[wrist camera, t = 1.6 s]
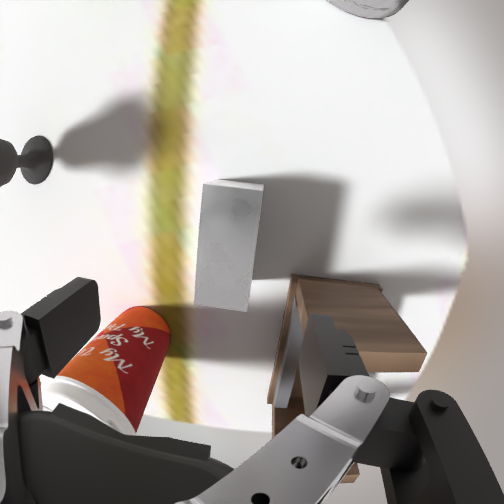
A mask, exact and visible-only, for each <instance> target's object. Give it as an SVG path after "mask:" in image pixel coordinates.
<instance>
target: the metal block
mask: <svg viewBox="0 0 504 504" xmlns="http://www.w3.org/2000/svg"><path fill="white" fill-rule="evenodd" d="M263 190H264V185H263V184H255V183H247V182H238V181H230V180H220V179H218V180H215V181H212V182H208V183H205V184H203V192H202V202H201V213H200V225H199V237H198V251H197V265H196V282H195V300H194V304H195V305H201V306H208V307H215V308H221V309H228V310H236V311H243V312H247V310H248V303H249V297H250V290H251V283H252V276H253V268H254V260H255V252H256V245H257V237H258V229H259V221H260V213H261V206H262V198H263Z"/></svg>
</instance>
